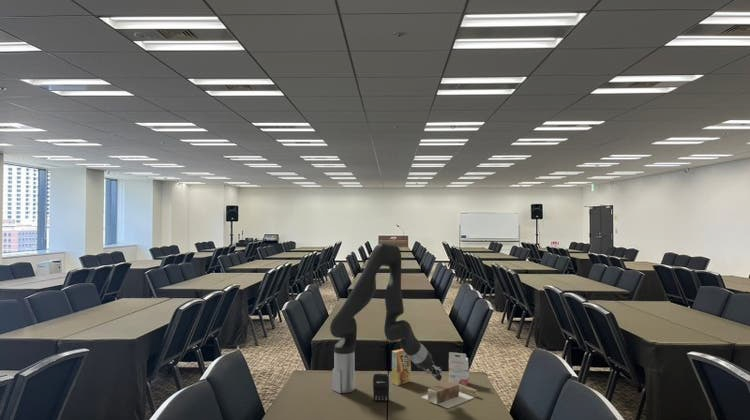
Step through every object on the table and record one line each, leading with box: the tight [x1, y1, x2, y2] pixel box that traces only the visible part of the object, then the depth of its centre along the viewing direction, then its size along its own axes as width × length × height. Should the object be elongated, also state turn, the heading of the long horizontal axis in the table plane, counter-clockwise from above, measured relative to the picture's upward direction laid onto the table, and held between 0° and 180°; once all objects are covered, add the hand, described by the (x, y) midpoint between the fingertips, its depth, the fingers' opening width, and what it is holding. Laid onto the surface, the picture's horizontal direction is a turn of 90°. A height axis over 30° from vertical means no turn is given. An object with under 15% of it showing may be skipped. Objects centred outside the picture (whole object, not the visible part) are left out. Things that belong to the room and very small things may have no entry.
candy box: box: [391, 348, 412, 386], centre depth 221 cm, size 9×4×15 cm, turn 129°
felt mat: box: [421, 392, 475, 409], centre depth 201 cm, size 17×15×1 cm
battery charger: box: [372, 372, 390, 403], centre depth 198 cm, size 7×4×11 cm, turn 86°
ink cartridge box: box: [448, 351, 470, 387], centre depth 219 cm, size 9×5×15 cm, turn 68°
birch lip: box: [448, 380, 478, 399], centre depth 207 cm, size 2×15×3 cm, turn 39°
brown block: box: [427, 381, 459, 405], centre depth 199 cm, size 5×5×14 cm
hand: (439, 378), depth 198 cm, fingers closed
